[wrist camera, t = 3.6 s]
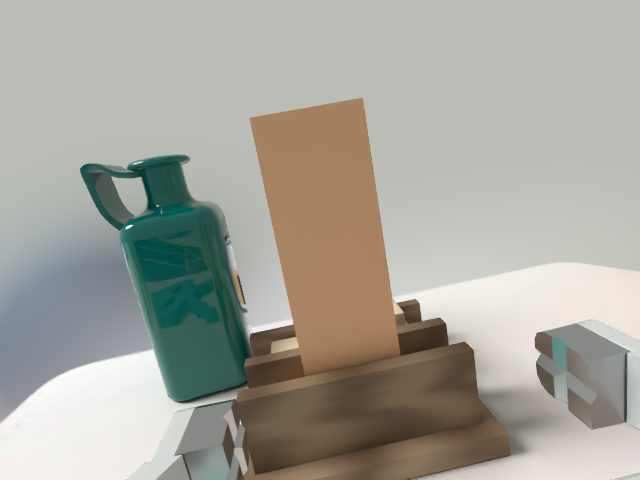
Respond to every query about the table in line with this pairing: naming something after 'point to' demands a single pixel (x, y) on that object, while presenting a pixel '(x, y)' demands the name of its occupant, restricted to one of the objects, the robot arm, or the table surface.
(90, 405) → the table surface
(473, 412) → the rack
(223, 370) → the pitcher
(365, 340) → the panel
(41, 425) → the table surface
